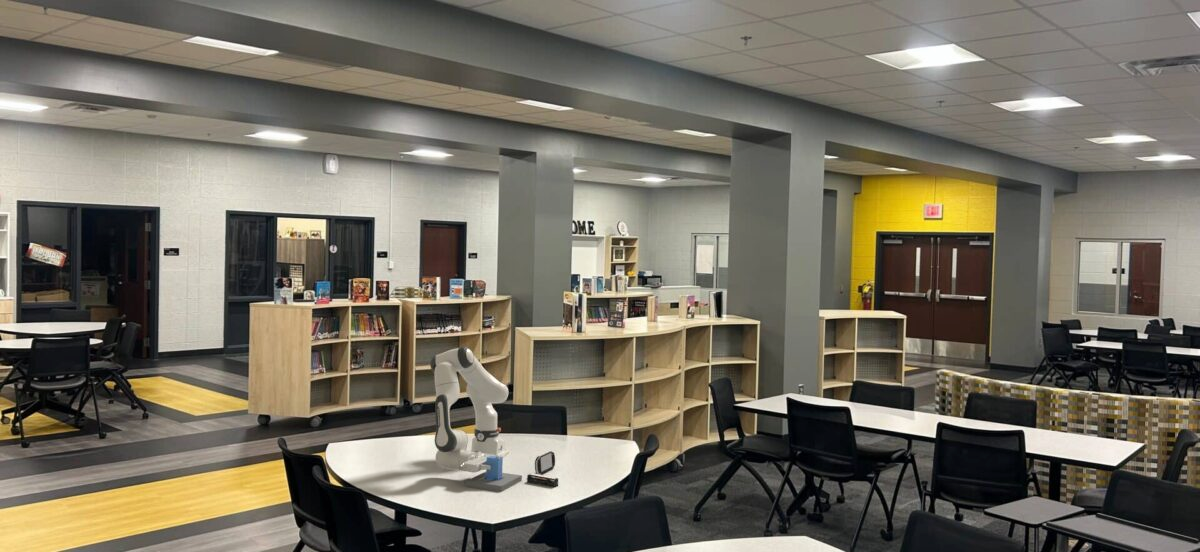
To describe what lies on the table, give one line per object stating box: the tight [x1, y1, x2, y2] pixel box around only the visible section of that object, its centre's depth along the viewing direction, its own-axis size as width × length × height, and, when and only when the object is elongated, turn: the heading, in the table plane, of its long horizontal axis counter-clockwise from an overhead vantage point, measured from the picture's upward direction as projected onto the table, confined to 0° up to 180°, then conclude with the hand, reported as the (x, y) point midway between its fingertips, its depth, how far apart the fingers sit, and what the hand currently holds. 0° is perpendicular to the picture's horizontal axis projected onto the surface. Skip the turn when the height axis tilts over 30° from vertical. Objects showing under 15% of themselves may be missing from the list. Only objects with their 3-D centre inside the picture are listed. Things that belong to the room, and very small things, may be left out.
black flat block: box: [526, 473, 559, 488], centre depth 374 cm, size 14×25×4 cm, turn 61°
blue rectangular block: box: [485, 454, 504, 481], centre depth 374 cm, size 10×6×13 cm, turn 160°
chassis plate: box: [465, 471, 523, 493], centre depth 374 cm, size 20×18×2 cm
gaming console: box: [534, 450, 556, 475], centre depth 397 cm, size 19×9×2 cm
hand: (495, 465), depth 374 cm, fingers open, 8 cm apart
